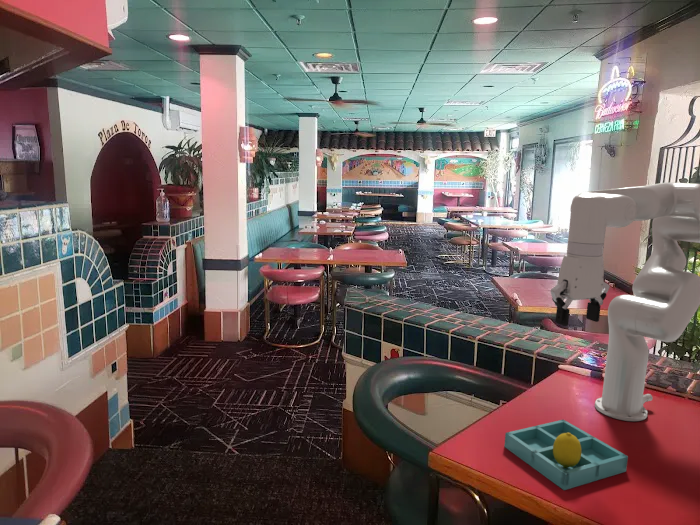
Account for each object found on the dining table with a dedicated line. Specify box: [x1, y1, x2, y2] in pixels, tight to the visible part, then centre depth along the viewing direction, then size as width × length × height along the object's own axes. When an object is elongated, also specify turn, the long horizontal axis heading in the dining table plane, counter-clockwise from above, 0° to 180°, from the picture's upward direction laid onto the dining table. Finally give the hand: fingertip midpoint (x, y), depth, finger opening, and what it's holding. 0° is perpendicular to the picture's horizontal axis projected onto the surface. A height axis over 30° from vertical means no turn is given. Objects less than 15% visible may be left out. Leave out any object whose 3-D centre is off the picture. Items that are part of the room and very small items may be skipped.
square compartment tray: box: [504, 419, 629, 491], centre depth 116 cm, size 18×18×4 cm
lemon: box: [553, 432, 581, 468], centre depth 110 cm, size 6×6×8 cm
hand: (577, 322), depth 122 cm, fingers open, 9 cm apart
